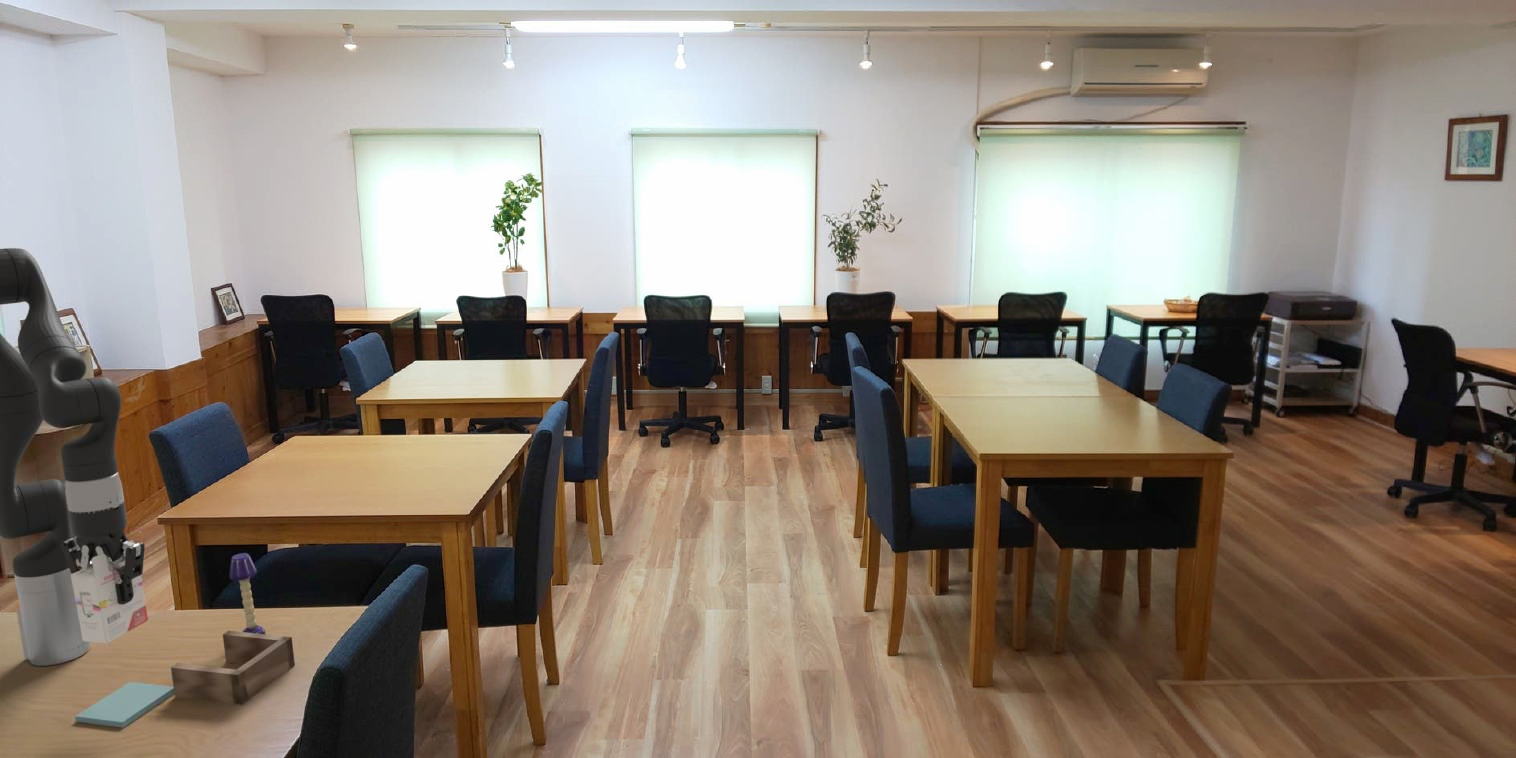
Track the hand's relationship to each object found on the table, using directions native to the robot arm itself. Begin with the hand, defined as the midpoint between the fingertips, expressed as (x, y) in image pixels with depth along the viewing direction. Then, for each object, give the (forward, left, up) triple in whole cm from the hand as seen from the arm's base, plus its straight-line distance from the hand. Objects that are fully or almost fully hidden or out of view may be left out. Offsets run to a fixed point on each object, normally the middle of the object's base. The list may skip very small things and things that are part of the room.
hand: (111, 600), depth 158 cm
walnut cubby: (+12, +11, -19) cm, 25 cm away
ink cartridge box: (0, 0, -6) cm, 6 cm away
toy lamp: (+3, +26, -19) cm, 32 cm away
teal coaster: (0, 0, -19) cm, 19 cm away
